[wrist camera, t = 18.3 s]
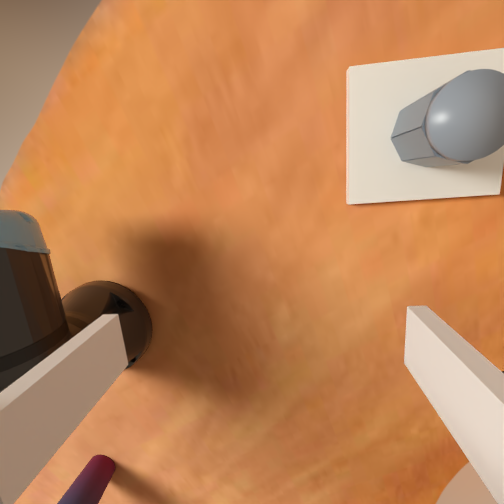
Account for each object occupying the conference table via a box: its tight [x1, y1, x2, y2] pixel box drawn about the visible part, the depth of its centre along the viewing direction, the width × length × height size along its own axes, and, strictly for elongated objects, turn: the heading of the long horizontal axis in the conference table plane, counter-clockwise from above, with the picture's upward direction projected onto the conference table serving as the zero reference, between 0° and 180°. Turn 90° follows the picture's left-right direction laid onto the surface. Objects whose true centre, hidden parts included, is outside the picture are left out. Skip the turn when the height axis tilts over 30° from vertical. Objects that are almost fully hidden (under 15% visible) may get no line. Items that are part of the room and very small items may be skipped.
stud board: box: [346, 48, 504, 204], centre depth 32 cm, size 18×16×8 cm
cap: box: [391, 69, 504, 167], centre depth 30 cm, size 8×8×9 cm
